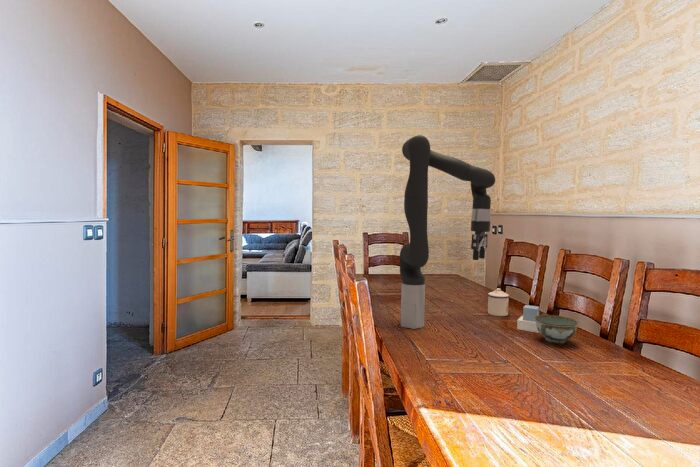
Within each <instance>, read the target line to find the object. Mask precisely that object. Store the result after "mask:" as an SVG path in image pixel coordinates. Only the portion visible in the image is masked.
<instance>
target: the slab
mask: <svg viewBox="0 0 700 467" xmlns="http://www.w3.org/2000/svg"><path fill="white" fill-rule="evenodd" d="M516 322H517V323H516V329H517V330H519V331H526V332H530V333H531V332H532V333H538V334H540V333H539V331H538V329H537V326H536V322H533V321H526V320H523V315H520V317H519V318H518V319H517V321H516Z"/></svg>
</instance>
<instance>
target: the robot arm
mask: <svg viewBox="0 0 700 467" xmlns="http://www.w3.org/2000/svg"><path fill="white" fill-rule="evenodd" d="M401 152H402V155H403V157H404V158H405V159H406V160H408V161H409V175H408V179H407V182H406V185H405V189H404V196H403V197H404V200H403V210H404V215H405V219H406V222H407V225H408V229H409V242H408V243H405V244H404V245H403V246H402V247H401V249H400V251H399V252H400V253H399V275H400V278H401V296H400V297H401V302H400V303H401V304H400V327H402V328H407V329H412V330H415V329H423V328H424V327H425V302H426V300H425V299H426V298H425V293H426V292H425V291H426V277H425V275H424V274H423V273H422V270H421V269H422V268H423V267H425V266H426V264H427V263H428V261H429V256H430V254H429V253H430V249H429V239H428V208H429V207H428V206H429V205H428V204H429V192H428V191H429V188H428V187H429V175H428V173H429V167H431V168H434V169H436V170H438V171H441V172H443V173H445V174H448V175H449V176H452V177H454V178H456V179H459V180H461V181H464V182H470V189H471V196H472V209H471V217H470V218H471V219H470V231H471V232H474V234H471V243H470V244H471V245H470V249H471V250H472V260H473V261H479V259H482V260H483V259H485V258H486V250H487V248H488V236H489V235H488V233H489V232H491V219H492V218H491V217H492V215H491V214H492V213H491V206H492V204H491V203H492V200H491V196H490V195H489V194H488V193H487V189H489V188H491V187H493V186H495V183H496V177H495V174H494V173H493V172H492V171H490V170H488V169H485V168H482V167H479V166H475V165H471V164H470V163H468V162H466V161H463V160H461V159H460V158H457V157H453V156H450V155H445V154H442V153H438V152H436V151H435V150H434V151H433V150H432V149H431V143H430V140H429V139H428V138H427V137H426V136H424V135H422V134H419V135H418V134H417V135H414V136H413V137H412V136H411V138H409V139H407V140H406V141H405V142H404V143H403V144H402V147H401Z"/></svg>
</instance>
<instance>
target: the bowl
mask: <svg viewBox="0 0 700 467" xmlns="http://www.w3.org/2000/svg"><path fill="white" fill-rule="evenodd" d="M535 319H536V326H537V329H538V331H539V333H538V334H540V336H542V337H543V338H545V341H546V342H547V343H550V344H553V345H554V344H555V345H564V344H566V342H567V341H569V340H570V339H572V338H573V337H574V336H575V335H576V333H577V330H578V329H577V328H578V320H576V319H574V318H570V317H567V316H562V315H561V316H560V315H554V314H541V315H540V314H539V316H536V317H535Z"/></svg>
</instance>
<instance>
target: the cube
mask: <svg viewBox="0 0 700 467" xmlns="http://www.w3.org/2000/svg"><path fill="white" fill-rule="evenodd" d="M522 308H523V309H522V311H523V312H522V316H523V320H526V321H533V322H536V319H535V317H536V316H539V315H540V306H536V305H528V304H525V305H524V306H523V307H522Z"/></svg>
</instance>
